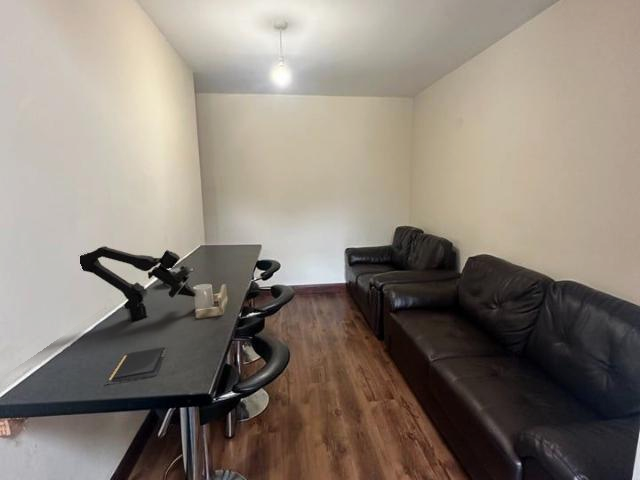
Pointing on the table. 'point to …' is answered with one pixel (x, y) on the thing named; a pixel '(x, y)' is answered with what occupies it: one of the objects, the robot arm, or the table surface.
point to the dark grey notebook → (138, 365)
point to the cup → (203, 296)
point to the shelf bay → (215, 310)
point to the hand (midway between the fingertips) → (195, 295)
